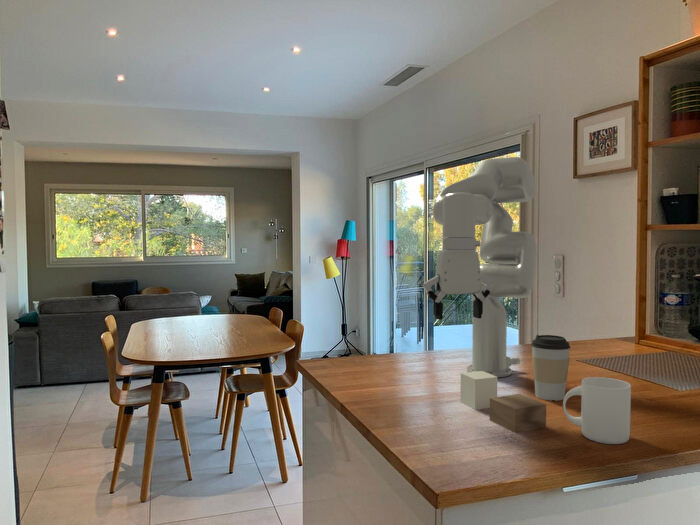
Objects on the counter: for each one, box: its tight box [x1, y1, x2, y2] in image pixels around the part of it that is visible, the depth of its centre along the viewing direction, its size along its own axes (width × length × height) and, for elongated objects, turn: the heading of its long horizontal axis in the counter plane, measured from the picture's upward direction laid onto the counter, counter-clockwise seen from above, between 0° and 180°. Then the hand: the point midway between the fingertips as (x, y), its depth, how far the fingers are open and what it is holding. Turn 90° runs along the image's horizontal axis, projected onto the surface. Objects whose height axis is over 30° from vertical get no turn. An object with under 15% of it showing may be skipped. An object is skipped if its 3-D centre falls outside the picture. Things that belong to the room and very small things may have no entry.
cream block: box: [459, 371, 498, 410], centre depth 124 cm, size 6×6×7 cm
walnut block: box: [489, 393, 547, 434], centre depth 111 cm, size 8×8×5 cm
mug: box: [562, 376, 632, 445], centre depth 104 cm, size 9×12×11 cm
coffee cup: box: [530, 334, 571, 401], centre depth 130 cm, size 9×9×15 cm
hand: (458, 318), depth 125 cm, fingers open, 9 cm apart
